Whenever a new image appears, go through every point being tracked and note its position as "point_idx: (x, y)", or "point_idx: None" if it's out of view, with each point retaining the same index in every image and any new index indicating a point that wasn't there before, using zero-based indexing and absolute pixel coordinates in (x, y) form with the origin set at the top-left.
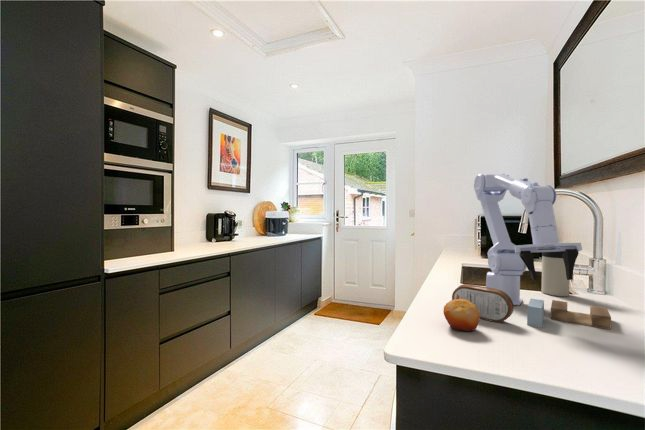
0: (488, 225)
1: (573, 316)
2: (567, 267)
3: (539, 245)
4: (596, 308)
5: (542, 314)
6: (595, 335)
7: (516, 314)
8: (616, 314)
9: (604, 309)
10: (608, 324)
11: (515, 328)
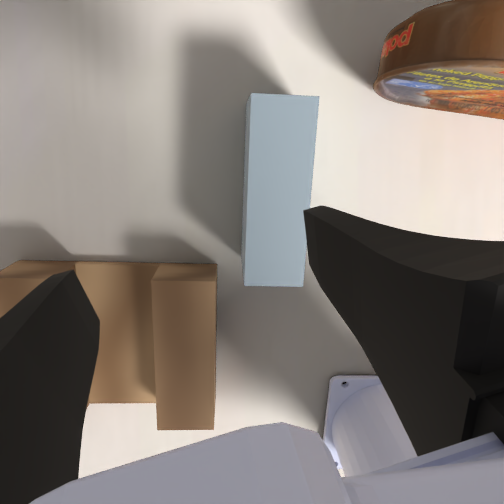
0: None
1: (140, 334)
2: (50, 364)
3: (452, 498)
4: None
5: (246, 167)
6: (60, 137)
7: None
8: None
9: None
10: (16, 267)
11: (343, 12)
